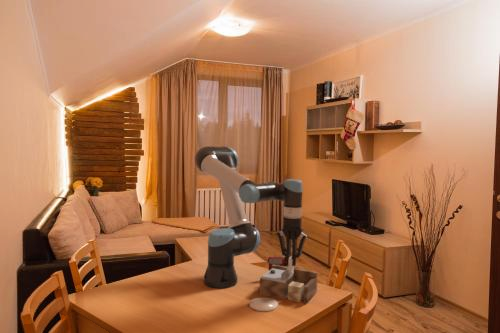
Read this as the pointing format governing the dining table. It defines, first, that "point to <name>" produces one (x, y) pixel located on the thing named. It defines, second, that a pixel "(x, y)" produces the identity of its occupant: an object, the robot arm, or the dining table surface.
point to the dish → (263, 304)
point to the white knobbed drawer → (277, 275)
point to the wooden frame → (282, 288)
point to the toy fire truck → (277, 261)
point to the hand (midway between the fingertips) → (290, 272)
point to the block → (296, 291)
